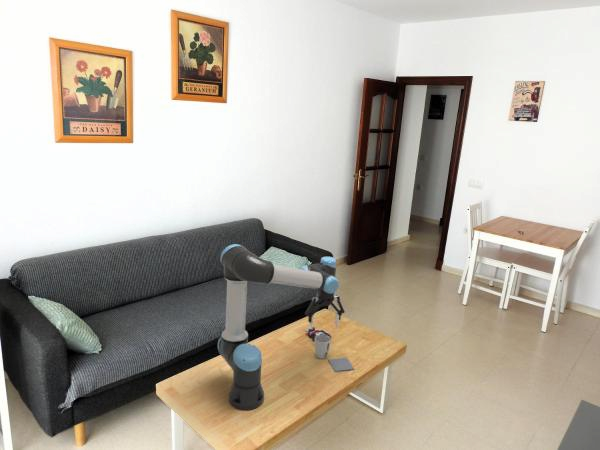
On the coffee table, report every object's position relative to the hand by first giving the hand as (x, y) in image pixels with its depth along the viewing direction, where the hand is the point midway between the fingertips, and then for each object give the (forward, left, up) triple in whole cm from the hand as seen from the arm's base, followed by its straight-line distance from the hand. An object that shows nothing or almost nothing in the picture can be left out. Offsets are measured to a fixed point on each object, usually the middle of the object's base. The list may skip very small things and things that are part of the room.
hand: (323, 326), depth 221 cm
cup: (0, 0, -17) cm, 17 cm away
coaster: (+7, -10, -17) cm, 21 cm away
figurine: (+4, +18, -17) cm, 25 cm away
